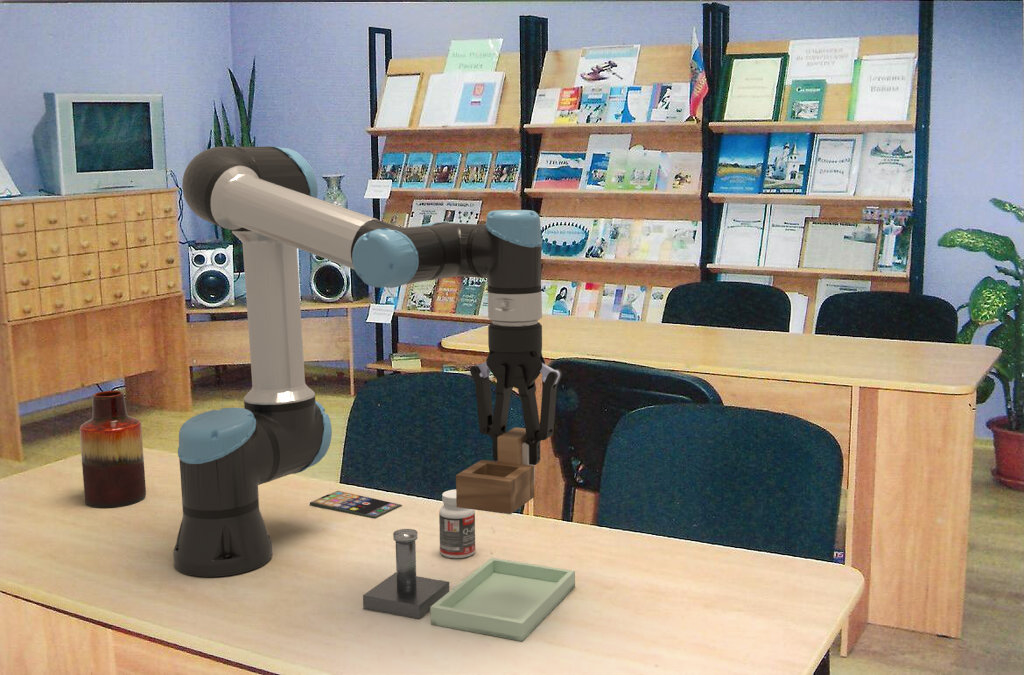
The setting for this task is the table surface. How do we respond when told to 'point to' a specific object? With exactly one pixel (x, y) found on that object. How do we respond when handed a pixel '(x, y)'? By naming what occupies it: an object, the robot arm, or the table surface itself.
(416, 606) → the grey peg stand
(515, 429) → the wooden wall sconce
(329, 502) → the smartphone
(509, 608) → the tray
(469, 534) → the pill bottle
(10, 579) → the table surface
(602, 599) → the table surface
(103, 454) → the vase
